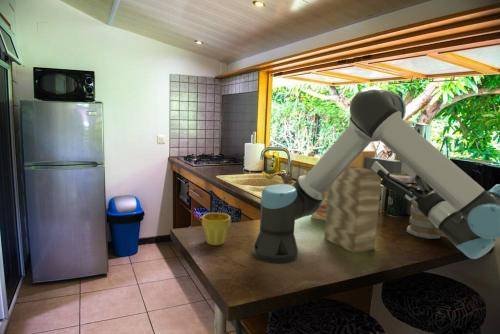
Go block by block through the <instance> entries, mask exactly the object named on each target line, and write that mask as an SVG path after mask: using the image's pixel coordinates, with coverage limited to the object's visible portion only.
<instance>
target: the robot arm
mask: <svg viewBox="0 0 500 334" xmlns="http://www.w3.org/2000/svg"><path fill="white" fill-rule="evenodd" d="M349 113H350V116H349V118H348V119H349V125H348V126H347V128H345V130H344V131H343V132H342V133H341V134H340V135H339V137H338V138H337V139H336V140H335V141H334V142H333V144H332V145H331V146H330V147H329V148H328V149H327V151H326V152H325V153H324V154H323V155H322V157H321V158H320V159H319V160H318V161H317V162H316V164H315V165H314V166H313V167H312V168H311V169H310V170H309V172H308V173H307V174H306V175H305V174H304V175H300V176H299V177H298V178H297V179H296V180H295V182H294V183H293V184H291V185H290V184H286V183H285V184H284V183H277V184H271V185H268V186H266V187H264V188H263V189H262V191H261V196H260V212H259V213H260V214H259V215H260V216H259V217H260V218H259V219H260V220H259V232H258V235H257V236H256V240H255V242H254V245H253V256H254V257H255V258H256V259H258V260H261V261H262V262H267V263H269V264H270V263H271V264H273V263H274V264H287V263H288V264H289V263H291V262H294V261H296V260H297V259H298V256H299V248H298V243H297V241H296V237H295V226H296V225H295V221H297V220H299V219H302V218H304V217H308V216H311V214H313V213H315V212H316V211H317V210H318V209H319V208H320V206H321V203H322V200H323V199H324V198H325V191H326V190H327V189H328V188H329V187H330V186H331V184H332V183H333V182H334V181H335V180H336V179H337V178H338V177H339V176H340V175H341V174H342V173H343V172H344V170H345V169H346V168H347V167H348V166H349V165H350V164H351V163H352V162H353V161H354V160H355V159H356V158H357V157H358V155H359V154H360V153H361V152H362V151H363V150H366V148H367V147H368V146H369V145H370V144H371V143H374V142H379V141H380V142H381V143H382V144H383V145H384V146H385V147H386V148H388V149H389V150H390V151H391V152H392V153H393V154H394V155H395V156H396V157H397V158H398V159H400V161H402V168H401V171H402V170H403V172H405V173H406V174H407V175H408V176H409V177H410V178H411V179H413V180H414V182H416V185H414V184H411V183H409V184H408V183H406V182H404V181H401V180H400V179H398V178H396V177H394V176H391V173H389V172H388V171H387V170H386V169H384V168H383V167H382V166H381V165H380V164H379V163H378V162H377V161H375V162H374V164H373V165H372V167H371V168H372V169H373V170H374V171H375V172H376V173H377V174H378V175H379V176H380V177H381V182H380V184H381V186H383V187H385V188H387V189H388V190H390V191H391V192H393V193H394V194H396V195H397V196H398V197H401V199H403V200H405V201H406V202H407V203H411V201H416V202H417V203H418V210H419V211H420V212H421V213H422V214H423V215H425V216H426V217H428V219H429V220H430V221H431V222H432V223H433V224H434V225H435V227H436V228H438V230H440V231H441V232H442V233H443V234H444V235H445V236H444V237H446V238H447V239H448V240H449V241H450V242H451V243H452V244H453V245H454V246H455V248H457V249H458V250H459V251H460V252H462V253H463V255H464V256H466V257H467V258H469V259H472V260H477V259H479V258H481V257H484V256H485V255H487V253H489V252H490V251H491V250H492V249H493V248H494V247H495V246H496V242H495V240H497V239H500V183H499V184H498V183H497V184H495V185H494V186H492V188H490V189H489V190H485V189H484V187H482V186H481V185H480V184H479V183H478V182H477V181H475V180H474V179H473V178H472V177H471V176H470V175H468V174H467V173H466V172H465V171H463V170H462V169H461V168H460V167H459V166H458V165H457V164H455V162H453V161H452V159H450V158H449V157H448V156H446V155H445V154H444V153H443V152H441V151H440V150H439V149H438V148H436V146H435V145H434V144H432V143H431V142H430V141H428V140H427V139H426V138H425V136H423V135H421V134H420V133H419V132H418V131H417V130H416V129H414V127H412V126H411V125H410V124H409V123H407V121H406V120H404V119H405V116H406V113H407V112H406V104H405V102H404V99H403V98H402V96H400V95H399V94H398V93H396V92H394V91H393V90H388V89H384V88H380V87H377V86H368V87H365V88H363V89H360V90H359V91H358V92H356V94H355V95H354V96H353V98H352V99H351V101H350V104H349Z"/></svg>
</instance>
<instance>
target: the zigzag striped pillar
mask: <svg viewBox="0 0 500 334" xmlns="http://www.w3.org/2000/svg"><path fill="white" fill-rule="evenodd" d="M381 181H382V178H381V177H380V176H379V175H378V174H377V173H376V172H375V171H374V170H370V169H365V168H357V167H352V166H348V167H347V168H346V169H345V170H344V172H343V173H342V174H341V175H340V176H339V177H338V178H337V179H336V180H335V181H334V182H333V183H332V184H331V186H330V187H329V188H328V199H327V212H326V220H325V228H324V239H325V240H327V241H329V242H331V243H332V244H336V245H337V246H339V247H341V248H343V249H345V250H348V251H350V252H352V253H353V254H358V253H362V252H368V251H371V250H375V247H376V238H377V226H378V218H379V209H380V208H379V207H380V206H379V205H380V197H381V188H382V187H381V186H382V185H381V184H380V182H381Z"/></svg>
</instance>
